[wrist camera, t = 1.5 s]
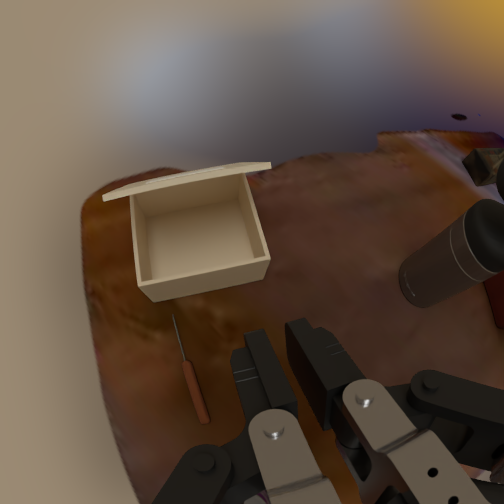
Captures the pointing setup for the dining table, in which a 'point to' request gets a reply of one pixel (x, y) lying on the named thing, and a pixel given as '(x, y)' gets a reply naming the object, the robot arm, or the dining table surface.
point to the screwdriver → (194, 387)
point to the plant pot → (496, 297)
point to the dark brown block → (484, 164)
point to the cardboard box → (197, 237)
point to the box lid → (186, 178)
